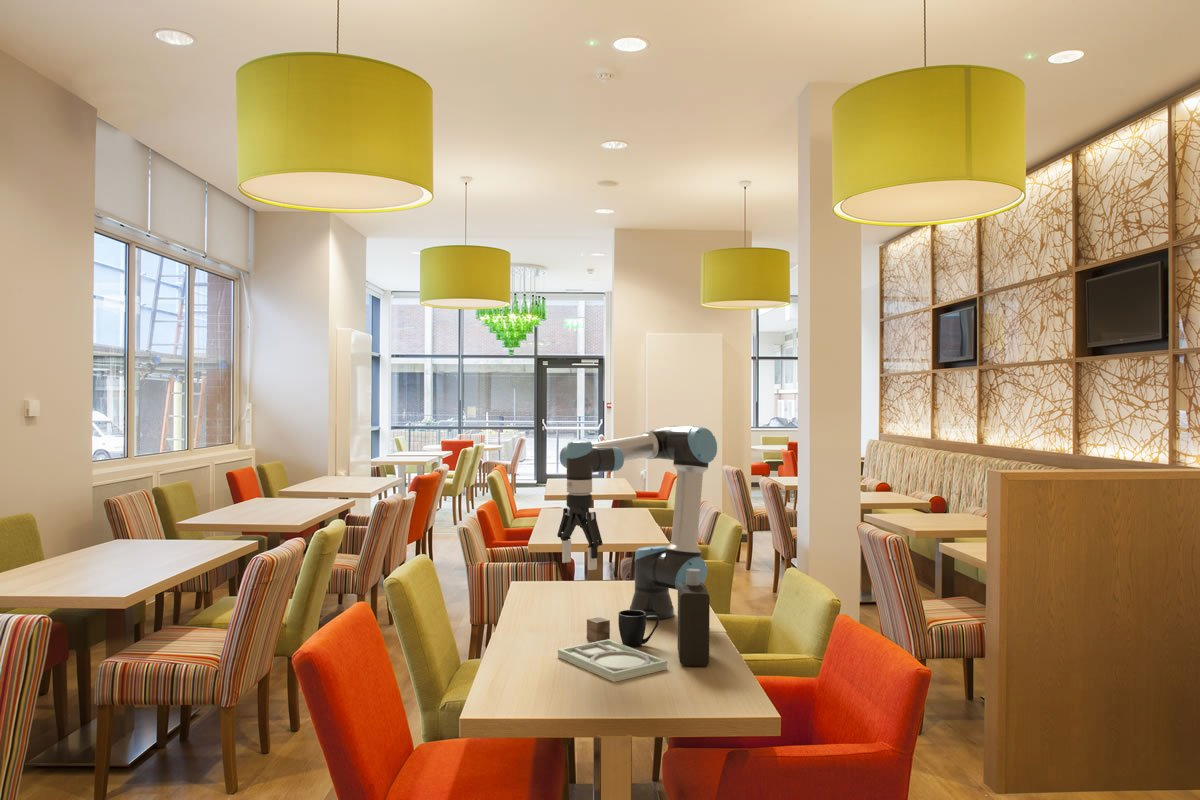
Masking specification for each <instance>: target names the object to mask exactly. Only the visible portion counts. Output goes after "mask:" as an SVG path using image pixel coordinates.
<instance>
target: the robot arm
mask: <svg viewBox="0 0 1200 800" xmlns="http://www.w3.org/2000/svg"><path fill="white" fill-rule="evenodd" d="M717 452H718V442H717V439H716V436H715V435H714V434H713V432H712V431H711V430H710V429H709V428H706V427H703V426H694V425H693V426H679V425H673V426H672V425H671V426H666V427H662V428H656V429H653V430H647V431H643V432H642V433H641V434H640V435H634V436H629V437H628V436H627V437H621V438H617V439H609V440H603V441H597V442H591V441H587V440H583V441H580V440H578V441H577V440H576V441H569V442H568V443H567V445H565V446H564V447H562V448H561V449H560V452H559V461H560V464H561V465H562V466H563V467H564V468H566V493H568V494H566V507H564V508H563V509H562V510H563V511H562V518H561V521H560V523H559V528H558V531H557V535H556V536H557V537H558V538H560V541H561V552H562V553H561V554H562V555H561V558H562V559H561V560H562V562H561V563H562V564H565V563H572V539H571V537H572V535H573V533H574V530H575V529H576V527H577V526H578V527H580V528H581V529H582V531H583V534H584V535H585V538H586V540H587V543H588V546H587V570H588V571H594V570H598V548H599V547H600V546H603V540H602V535H601V533H600V528H599V525H598V520H597V514H596V511H593V512H592V511H591V512H590V508H591V507H592V506H593V495H592V494H591V493H592V492H593V473H606V472H608V473H609V472H610V473H612V472H616V471H619V470H621V469H622V468H623V466H624V462H626V461H633V460H637V459H638V460H639V459H646V460H654V459H656V460H657V459H661V460H669V461H673V463H672V465H673V467H674V468H675V469H676V481H675V482H676V483H675V492H674V493H675V496H674V504H673V505H674V506H673V516H672V517H673V518H672V519H673V520H672V526H671V527H672V529H671V539H670V543H669V544H668V545H656V546H654V545H653V546H645V547H644V546H643V547H639V548H637V549H636V550H635V553H634V555H635V556H634V561H633V562H634V593H633V596H632V600H631V602H630V606H629V610H639V611H643V612H645V613H646V616H651V615H655V616H658V617H659V620H665V619H666V620H667V619H670V618H672V617H674V615H675V613H674V612H675V609H674V606H673V601H672V598H671V594H670V589H672V590H676V591H678V585H679V584H680V583H681V582H687V569H690V568H691V569H700V582H702V583H703V584H704V583H705V581H706V578H707V574H708V565H707V564H706V561H705V560H704V559H703V558H702V557H701V556H702V550H701V549H700V548H699V546H698V539H699V538H698V536H699V525H700V514H701V513H700V512H701V504H702V503H701V502H702V500H701V499H702V490H703V479H704V473H705V472H706V471H708V470H709V463H711V462H712V461H714V459H715V458H716V456H717V454H718V453H717ZM647 620H653V621H654V620H657V619H656V618H648V619H647Z"/></svg>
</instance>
